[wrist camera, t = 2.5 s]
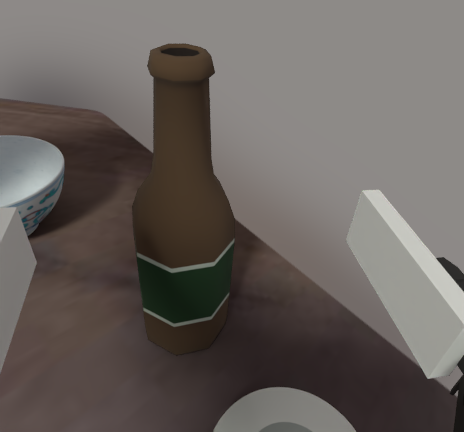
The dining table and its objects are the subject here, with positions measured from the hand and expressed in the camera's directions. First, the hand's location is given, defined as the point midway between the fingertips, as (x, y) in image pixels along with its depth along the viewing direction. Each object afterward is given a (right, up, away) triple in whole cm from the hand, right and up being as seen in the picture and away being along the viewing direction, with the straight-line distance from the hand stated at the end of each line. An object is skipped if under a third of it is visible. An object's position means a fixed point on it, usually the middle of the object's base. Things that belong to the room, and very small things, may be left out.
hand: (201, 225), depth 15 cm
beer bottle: (-3, -10, +21) cm, 23 cm away
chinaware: (-25, -1, +29) cm, 38 cm away
